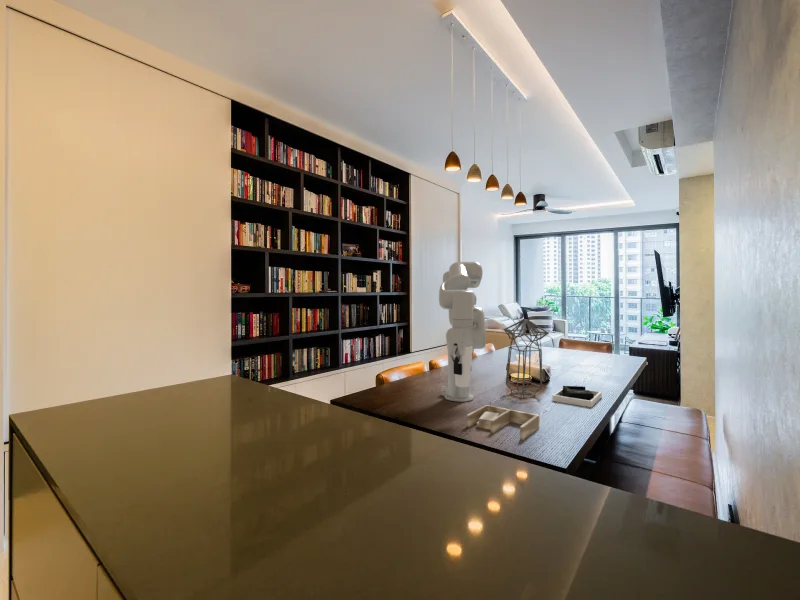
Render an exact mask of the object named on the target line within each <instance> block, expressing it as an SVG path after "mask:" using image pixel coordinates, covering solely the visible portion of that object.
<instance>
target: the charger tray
mask: <svg viewBox="0 0 800 600" xmlns="http://www.w3.org/2000/svg"><path fill="white" fill-rule="evenodd" d="M588 390H589V391H591V392H592V393H593V394H594V398H592V399H591V400H590V401H589V400H583V399H577V398H570V397H565V396H564V395H563V387H562V388H561V389H559V390H558V391H556V392H554V394H552V397H551V398H552V402H557V403H562V404H569V405H574V406H581V407H586V406H587V407H588V408H593V407H594V406H593V405H594V404H595V403H596V402H597V401H598V400H599V399H600V398H601V397H603V396H602V395H603V394H602V392H603V391H598V390H591V389H588ZM601 399H602V398H601ZM601 399H600V400H601ZM600 400H599V401H600ZM599 401H598V402H599ZM598 402H597V403H598ZM597 403H596V404H597ZM592 406H593V407H592ZM587 407H586V408H587Z"/></svg>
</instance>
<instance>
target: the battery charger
mask: <svg viewBox="0 0 800 600" xmlns="http://www.w3.org/2000/svg"><path fill="white" fill-rule="evenodd" d="M562 388H563V395H562V396H564V397H570V398H577V399H583V400H589V401H590V400H591V399H592V398H594V394H593V393H592V392H591V391H589V390H590V389H586V386H584V385H583V386H579V385H575V386H574V385H562Z"/></svg>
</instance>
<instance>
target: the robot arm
mask: <svg viewBox="0 0 800 600" xmlns="http://www.w3.org/2000/svg"><path fill="white" fill-rule="evenodd" d="M482 279H483V267H482V265H481V264H480V262H478V261H456V262H454V263H452V264H451V265H450V266H449V269H448V270H447V271H445V272H444V273H443V275H442V283H441V285H440V286H439V290H438V302H439V306H440V308H442V309H443V310H448V319H449V320H448V321H449V324H450V326H451V328H449V329H447V330H446V332H445V340H446V347H447V373H448V375H447V381H448V382H447V386H445V385H442V386H441V389H440V390H441V391H442V392H445V394H444V398H445V400H446V401H447V400H448V401H451V402H456V403H457V402H459V403H462V402H463V403H466V402H470V401H472V400H474V395H473V394H472V393H471V392H470V391H471V389H470V388H471V386H469V387H457V386H456V385H455V374H457V375H462V364H461V360H462V356H463V355H464V352H465V347H469V346H472V356H473V354H474V351H475V350H482V349H484V348H485V347H486V345H487V330H486V329H487V328H486V320H485V313H484V312H485V311H484V310H483V309H482V308H481V307H480V306H476V305H477V294H476V293H475V292H474V291H473V290H471V289H475V288H476V289H477V288H478V287H479V286H480V285H481V282H482ZM456 352H458V353H459V355H457V354H456ZM457 357H459V359H458V358H457Z"/></svg>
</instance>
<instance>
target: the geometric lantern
mask: <svg viewBox="0 0 800 600" xmlns="http://www.w3.org/2000/svg"><path fill="white" fill-rule="evenodd" d="M513 327H514V328H513ZM520 327H521V328H520ZM511 328H512V329H511ZM540 330H541V331H540ZM503 331H504V333H505V334H506V335H507V336H508V339H509V340H510V345H509V346H508V347H507V348H508V353H507V354H508V355H507V364H506V365H507V366H506V374H505V375H506V377H505V378H506V379H505V385H506V386H507V388H509V389H510V395H511V396H513V397H516V398H519V399H521V400H522V399H529V398H530V399H531V398H536V394H537V393H538V392H539V391H541V390H543V354H542V353H543V351H542V350H543V349H542V342H541V340H542V339H543V338H544V337H545V338H546V336H547V335H549V334H550V332H548V331H547V330H546V329H543V328H542V327H540V326H539V325H537V324H536V323H534V322H532V321H531V320H530V319H526V318H525V319H524V318H523V319H521V320H519V321H517V322H516V323H513V324H511V325H509V326H508V327H506V328H504V329H502V332H503ZM517 331H519V332H517ZM527 331H528V333H526V332H527ZM522 336H525V337H526V338H527V339H528V340H529V342H528V344H527V342H525V340H524V339H523V337H522ZM529 336H530V337H529ZM532 337H534V338H533V340H532ZM517 338H521V340H522V341H523V343H524V344H525V345H518V344H517V342H516V339H517ZM538 341H539V342H538ZM513 342H514V344H515V346H514V345H512V344H513ZM534 342H536V345H537V347H533V343H534ZM520 347H523V348H524V349H523V350H522V349H520ZM516 348H517V349H516ZM527 348H528V349H529V350H528V349H527ZM531 348H532V349H533V350H531ZM534 349H535V350H534ZM512 350H515V351H517V352H518V363H517V364H518V365H517V378H516V380H517V381H509V373H510V368H511V366H510V365H511V358H512ZM527 352H529V354H528V356H529V358H528V359H529V361H528V381H527V380H525V377H526V373H525V372H526V364H527ZM531 352H538V359H539V360H538V361H539V363H538V364H539V381H540V382H539V383H540V384H539V385H538V384H536V383H534V382H531ZM521 353H522V380H519V378H520V365H521V364H520V363H521ZM519 383H522V387H519ZM525 383H526V385H525ZM512 384H516V386H513V385H512ZM529 384H531V385H534V386H535V387H538V388H528V385H529ZM526 391H530V392H526ZM515 394H519V395H520V396H518V395H515ZM525 395H530V396H527V397H526V396H525ZM521 396H522V397H521Z"/></svg>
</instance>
